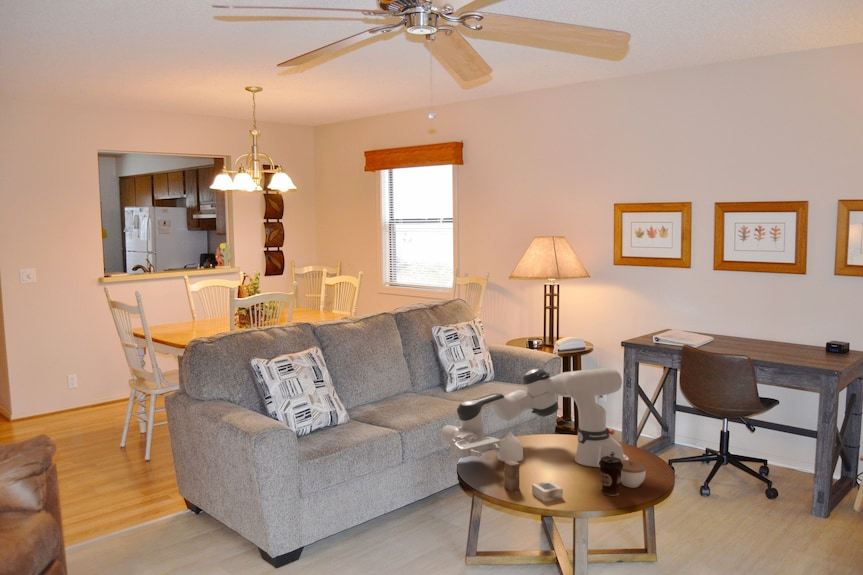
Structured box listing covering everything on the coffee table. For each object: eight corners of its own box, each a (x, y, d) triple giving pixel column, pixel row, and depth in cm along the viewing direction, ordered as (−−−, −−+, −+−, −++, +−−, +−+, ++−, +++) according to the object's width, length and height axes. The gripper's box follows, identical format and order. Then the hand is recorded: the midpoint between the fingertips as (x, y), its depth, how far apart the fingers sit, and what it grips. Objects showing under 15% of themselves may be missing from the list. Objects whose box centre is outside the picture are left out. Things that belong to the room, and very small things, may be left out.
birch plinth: (550, 491, 256) (550, 480, 256) (562, 499, 249) (562, 488, 248) (532, 494, 253) (532, 484, 252) (543, 502, 246) (543, 492, 245)
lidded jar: (642, 492, 253) (642, 467, 252) (613, 486, 258) (613, 462, 257) (648, 482, 262) (648, 458, 262) (620, 477, 268) (620, 454, 267)
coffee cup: (607, 499, 247) (608, 464, 246) (593, 490, 255) (594, 457, 253) (627, 495, 251) (627, 460, 249) (612, 486, 258) (613, 453, 257)
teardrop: (521, 453, 296) (521, 426, 295) (524, 462, 285) (524, 434, 284) (496, 453, 297) (496, 426, 295) (498, 462, 286) (498, 434, 284)
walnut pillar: (512, 485, 261) (512, 460, 260) (519, 488, 258) (519, 463, 257) (504, 487, 259) (504, 462, 258) (511, 491, 255) (511, 465, 254)
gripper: (488, 445, 284) (510, 454, 273) (448, 455, 273) (469, 465, 262) (488, 430, 284) (510, 439, 272) (448, 440, 273) (469, 449, 261)
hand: (489, 452), depth 267 cm, fingers open, 8 cm apart
